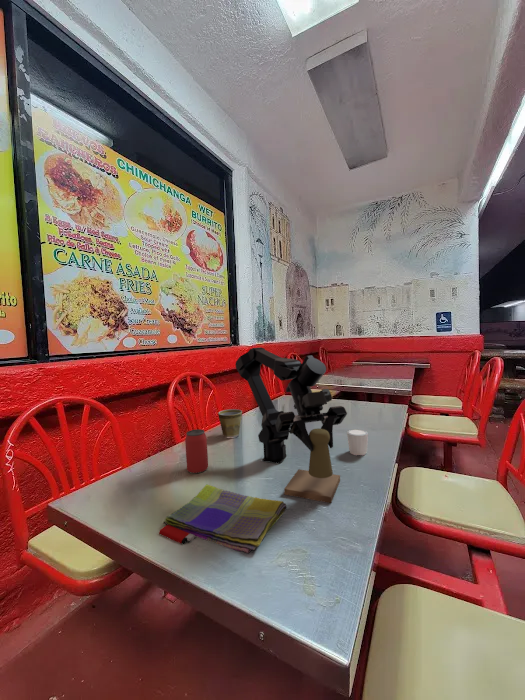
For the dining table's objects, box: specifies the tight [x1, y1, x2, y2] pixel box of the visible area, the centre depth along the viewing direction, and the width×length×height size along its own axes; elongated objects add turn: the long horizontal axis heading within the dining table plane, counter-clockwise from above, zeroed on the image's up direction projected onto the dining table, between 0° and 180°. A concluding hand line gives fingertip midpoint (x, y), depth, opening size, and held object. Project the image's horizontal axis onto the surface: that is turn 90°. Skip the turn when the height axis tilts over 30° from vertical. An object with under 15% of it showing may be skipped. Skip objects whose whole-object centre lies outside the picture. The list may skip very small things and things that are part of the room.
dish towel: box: [163, 484, 288, 554], centre depth 69 cm, size 18×24×3 cm
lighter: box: [158, 524, 197, 545], centre depth 63 cm, size 3×1×8 cm
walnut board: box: [283, 468, 341, 504], centre depth 80 cm, size 12×12×2 cm
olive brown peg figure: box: [308, 428, 334, 478], centre depth 76 cm, size 6×6×11 cm
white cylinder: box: [346, 428, 369, 456], centre depth 102 cm, size 7×7×7 cm
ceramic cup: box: [217, 408, 243, 438], centre depth 128 cm, size 13×10×10 cm
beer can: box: [184, 428, 209, 474], centre depth 95 cm, size 7×7×12 cm
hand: (322, 448), depth 75 cm, fingers closed on olive brown peg figure, 5 cm apart
